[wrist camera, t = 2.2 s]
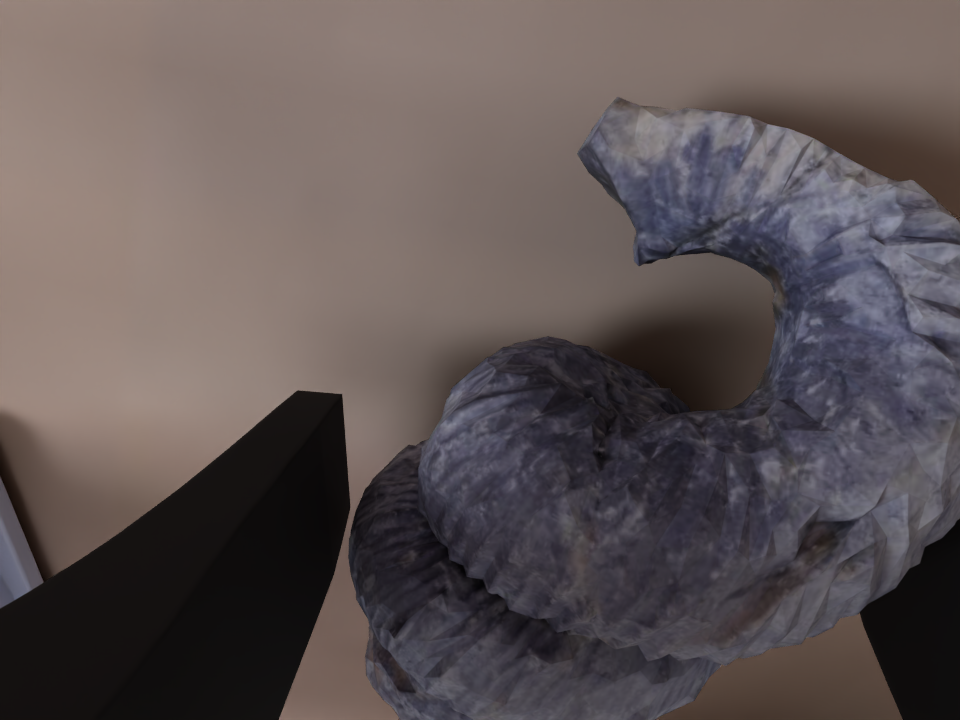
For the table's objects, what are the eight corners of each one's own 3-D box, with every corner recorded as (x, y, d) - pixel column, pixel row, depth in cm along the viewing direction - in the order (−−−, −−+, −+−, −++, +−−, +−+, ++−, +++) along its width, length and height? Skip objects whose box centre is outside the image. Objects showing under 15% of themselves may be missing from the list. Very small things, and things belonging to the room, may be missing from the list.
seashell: (748, 58, 9) (455, 530, 15) (492, -21, 5) (218, 665, 11) (1173, 310, 7) (652, 753, 13) (1264, 483, 3) (448, 1022, 9)
